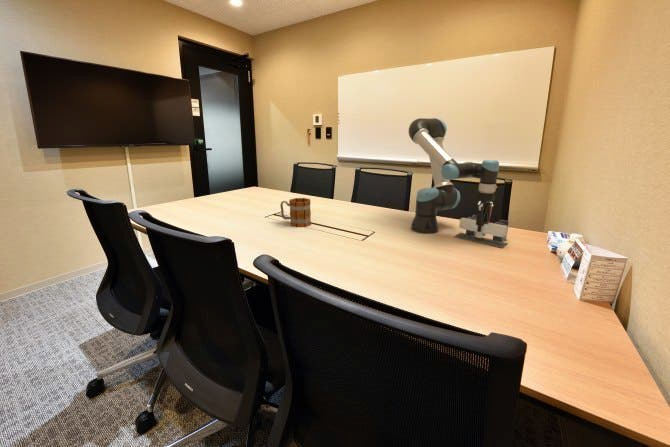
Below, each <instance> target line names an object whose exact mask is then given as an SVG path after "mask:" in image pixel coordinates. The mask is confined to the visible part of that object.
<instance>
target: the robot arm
mask: <svg viewBox="0 0 670 447" xmlns="http://www.w3.org/2000/svg"><path fill="white" fill-rule="evenodd" d="M447 129H448V128H447V124H446V123H445V121H444V120H443V119H441V118H436V117H435V118H434V117H433V118H423V117H422V118H421V117H419V118H416V119H414V120H413V121H411V123H410V124H409V127H408V136H409V138H410V139H411V141H412V142H413V143H414V144H415V145H419V147H420V148H421V149H422V150H423V151H424V152H425V153H426V154H427V155H428V158H429V162H430V168H431V172H432V177H433V185H434V186H433V187H424V188H421V189H418V190H417V192H416V197H415V198H416V199H415V210H414V211H415V213H414V217H413V219H412V222H411V227H410V229H411V230H412V231H414V232H416V233H421V234H435V233H438V232H439V223H438V218H437V212H438V211H442V210H443V211H445V210H452V209H454V208H456V207H457V206H458V204H459V203H460V201H461V194H460V191H459V190H458V189H457V188H455V186H454V183H452V182H451V180H460V179H469V178H471V179H472V178H473V179H479V182H478V183H479V184H478V193H477V194H478V195H477V199H478V200H480V201H481V203H480V205H479V206H478V205H477V207H476V209H477V213H476V215H477V218H476V225H477V233H476V235H475V236H476V237H478V238H482V237H485V236H486V235H487V234H485V233H483V222H488V221H489V218H490V219H491V216H490V212H491V213H492V211H491V206H492V203H493V202H492V201H495V198H496V197H495V196H496V195H495V194H496V193H495V192H496V189H497V188H498V186H497V180H498V176H499V172H500V171H499V170H500V168H499V167H500V162H499V160H496V159H484V160H482V162H481V163H479V162H478V163H477V162H472V161H465V162H462V163H458V162H457V161H456V160H455V159H454V158H453V157H452V156H451V154H449V153H448V152H447V151H446V150H445V149H444V145H443V142H444V140H445V136H446V133H447ZM490 202H492V203H490ZM489 222H490V221H489Z"/></svg>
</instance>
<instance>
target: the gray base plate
mask: <svg viewBox="0 0 670 447" xmlns="http://www.w3.org/2000/svg"><path fill="white" fill-rule="evenodd" d="M454 238H457V239H458V238H459V239H461V240H465V241H471V242H474V243H478V244H482V245H486V246H491V247H495V248H499V249H503V248H505V247H506V246H507V245H508V242H505V241H503V242H500V241H496V240H493V238H488V237H487V238H486V237H484V236H482V238H478V237H476V235H475V236H474V235H470V234H466V232H465V233H464V232H459V233H457V234H454Z"/></svg>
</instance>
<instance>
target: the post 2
mask: <svg viewBox="0 0 670 447" xmlns="http://www.w3.org/2000/svg"><path fill="white" fill-rule="evenodd" d="M495 224H500V225H505V226H507V231H506V236H504V237H499V236H494V235H492V240H496V241H500V242H505V241H506V240H507V236H508V229H509V225H510V220H509V221H508V220H504V219H499V220H498V221H495Z"/></svg>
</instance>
